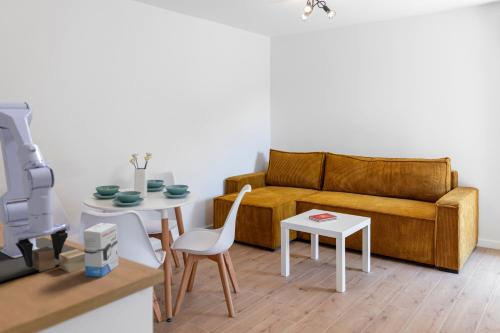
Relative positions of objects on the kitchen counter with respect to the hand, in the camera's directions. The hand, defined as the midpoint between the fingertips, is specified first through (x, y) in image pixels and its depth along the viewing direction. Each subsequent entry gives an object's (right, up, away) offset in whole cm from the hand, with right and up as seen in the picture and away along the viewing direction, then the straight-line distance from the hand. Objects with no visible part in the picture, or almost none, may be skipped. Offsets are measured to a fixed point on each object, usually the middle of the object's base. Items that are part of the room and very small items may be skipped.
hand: (43, 262), depth 107 cm
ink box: (+16, -2, -1) cm, 16 cm away
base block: (+8, -2, +1) cm, 8 cm away
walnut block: (0, -2, 0) cm, 2 cm away
